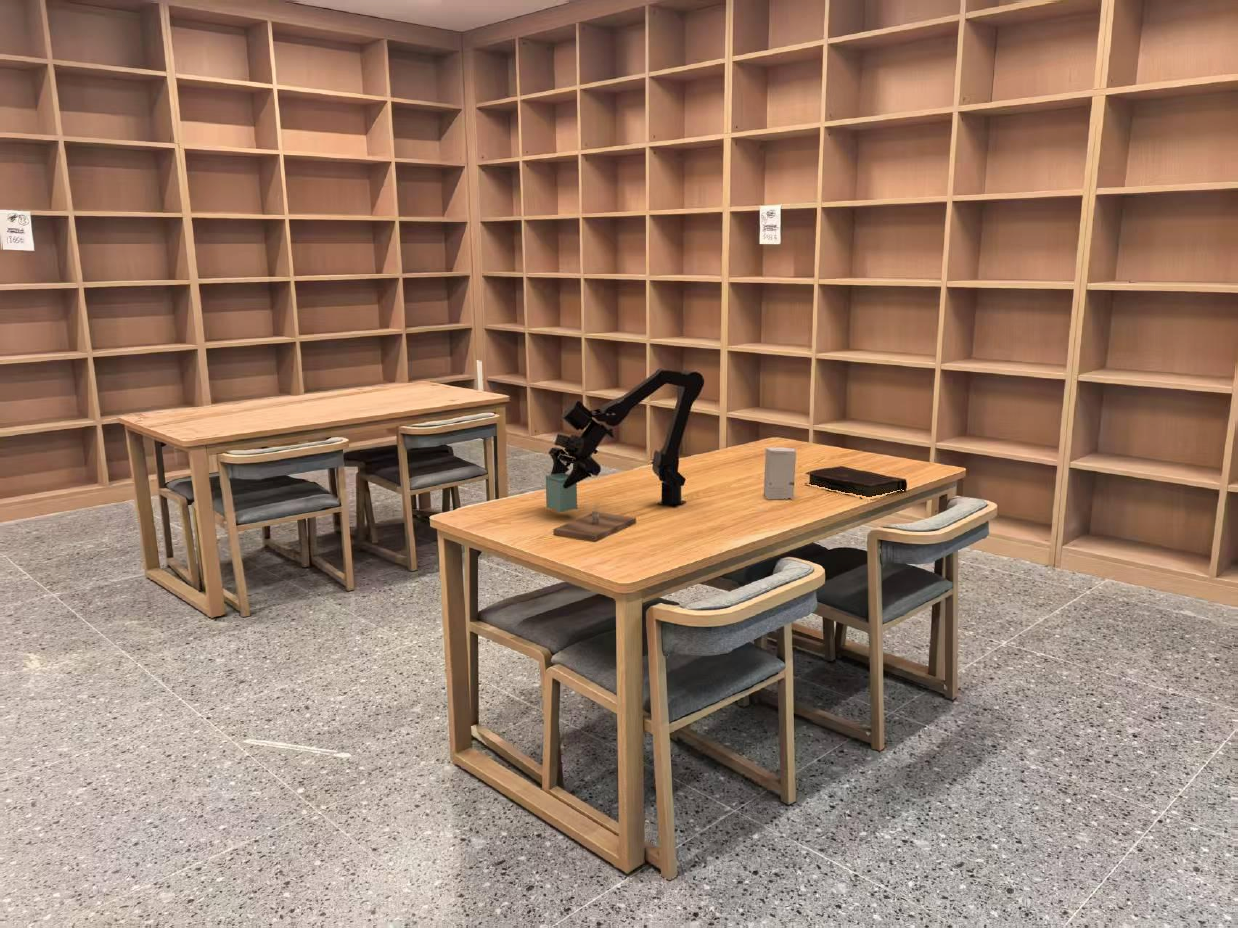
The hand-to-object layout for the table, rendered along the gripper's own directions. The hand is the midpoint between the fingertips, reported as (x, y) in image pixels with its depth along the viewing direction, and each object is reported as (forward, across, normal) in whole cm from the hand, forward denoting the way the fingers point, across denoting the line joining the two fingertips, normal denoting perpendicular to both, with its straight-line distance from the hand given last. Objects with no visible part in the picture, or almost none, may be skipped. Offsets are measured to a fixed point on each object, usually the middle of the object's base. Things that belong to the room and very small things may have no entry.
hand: (556, 485), depth 255 cm
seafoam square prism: (+4, 0, +6) cm, 7 cm away
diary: (-57, +29, +71) cm, 95 cm away
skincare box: (-39, +22, +52) cm, 69 cm away
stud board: (+5, +16, +7) cm, 19 cm away
